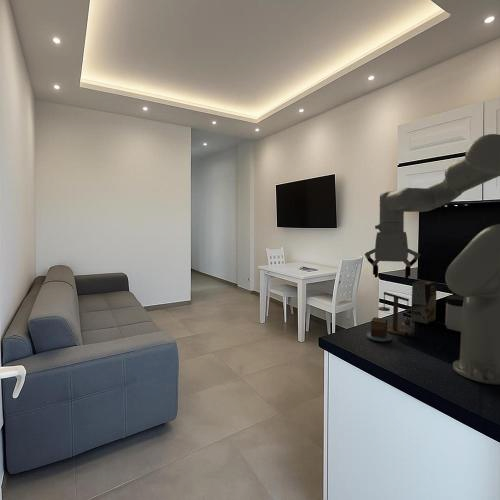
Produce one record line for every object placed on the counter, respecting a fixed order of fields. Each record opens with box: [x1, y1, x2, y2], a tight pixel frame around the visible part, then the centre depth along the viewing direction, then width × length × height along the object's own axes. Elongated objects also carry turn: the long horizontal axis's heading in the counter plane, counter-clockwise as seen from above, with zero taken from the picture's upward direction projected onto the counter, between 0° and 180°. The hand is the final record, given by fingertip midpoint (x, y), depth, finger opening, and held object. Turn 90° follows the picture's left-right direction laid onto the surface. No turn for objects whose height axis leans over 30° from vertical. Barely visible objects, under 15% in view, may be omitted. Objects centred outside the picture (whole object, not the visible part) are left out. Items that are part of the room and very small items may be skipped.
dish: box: [366, 331, 392, 343], centre depth 110 cm, size 8×8×1 cm
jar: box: [444, 294, 464, 333], centre depth 120 cm, size 9×8×12 cm
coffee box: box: [410, 279, 438, 325], centre depth 130 cm, size 9×6×16 cm
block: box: [370, 316, 389, 338], centre depth 110 cm, size 4×4×6 cm
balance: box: [378, 291, 414, 337], centre depth 116 cm, size 4×12×15 cm, turn 58°
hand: (391, 277), depth 108 cm, fingers open, 9 cm apart
